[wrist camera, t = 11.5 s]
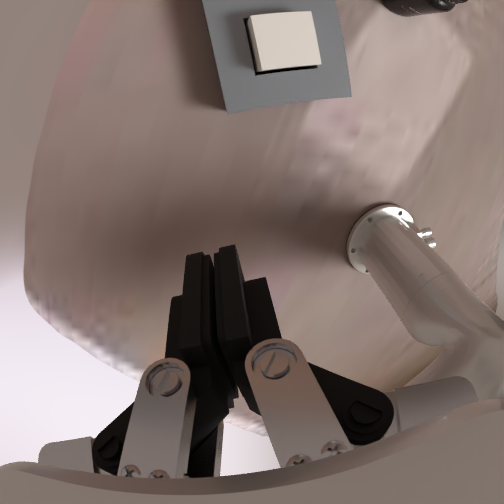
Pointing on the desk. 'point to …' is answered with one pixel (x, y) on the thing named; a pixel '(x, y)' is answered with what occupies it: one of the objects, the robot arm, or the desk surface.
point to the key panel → (281, 83)
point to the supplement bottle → (420, 6)
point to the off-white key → (282, 40)
